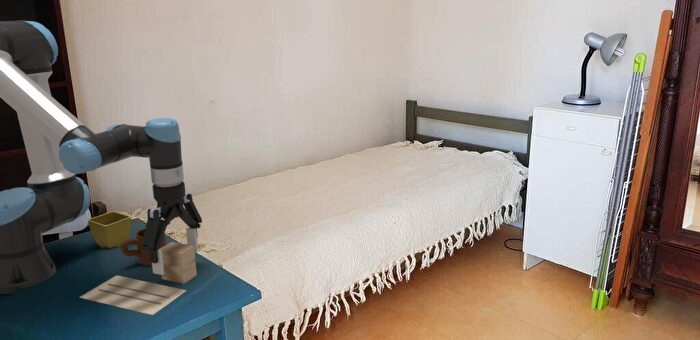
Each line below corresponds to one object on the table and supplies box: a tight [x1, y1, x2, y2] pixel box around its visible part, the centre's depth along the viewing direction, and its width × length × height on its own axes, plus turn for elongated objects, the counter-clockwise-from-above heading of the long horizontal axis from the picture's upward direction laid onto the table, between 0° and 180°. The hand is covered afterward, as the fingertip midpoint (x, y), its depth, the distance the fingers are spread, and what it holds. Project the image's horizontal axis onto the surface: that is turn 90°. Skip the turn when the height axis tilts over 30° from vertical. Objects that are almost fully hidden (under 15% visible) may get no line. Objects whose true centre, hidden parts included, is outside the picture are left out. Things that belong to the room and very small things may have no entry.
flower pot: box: [87, 210, 132, 249], centre depth 160 cm, size 9×9×9 cm
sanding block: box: [160, 241, 198, 285], centre depth 139 cm, size 7×5×9 cm
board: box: [79, 275, 187, 316], centre depth 132 cm, size 22×12×1 cm, turn 69°
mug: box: [120, 227, 168, 267], centre depth 147 cm, size 12×8×9 cm, turn 134°
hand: (176, 262), depth 139 cm, fingers open, 13 cm apart
